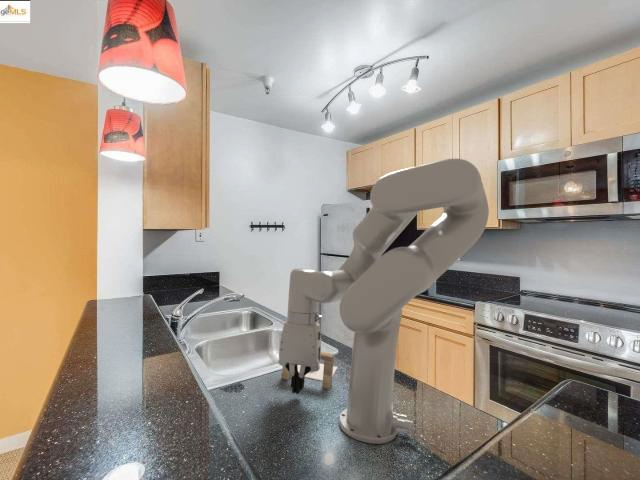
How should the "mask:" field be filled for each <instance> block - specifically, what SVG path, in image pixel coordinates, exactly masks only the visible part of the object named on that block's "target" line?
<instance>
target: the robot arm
mask: <svg viewBox="0 0 640 480" xmlns="http://www.w3.org/2000/svg"><path fill="white" fill-rule="evenodd" d="M369 199H370V202H371V208H370V209H369V211H368V212H367V213H366V215H364V217H363V218H362V219H361V220H360V222H359V223H358V224H357V225H356V226H355V228H354V229H353V231H352V239H353V248H352V251H351V252H350V254H349V256H348V258H347V259H346V260H345V261H344V263H343V264H342V265H341V266H340V267H339V268H338V269H337V270H322V271H321V270H320V271H318V270H316V269H311V268H294V269H292V270H291V272H290V275H289V276H290V277H289V289H288V301H287V315H286V316H287V317H286V318H287V319H286V320H285V321H284V322H283V327H282V331H281V335H280V340H279V341H280V342H279V349H278V362H277V363H278V365H279V366H282V367H283V366H284V367H286V368H287V370H288V371H289V372H290V376H291V378H290V379H291V380H290V388H292V389H291V393H292V394H297V395H299V394H300V393H301V391H302V390H304V388H305V380H306V378H305V375H306V374H307V373H309V372H313V371H318V370H319V369H320V365H319V363H320V361H321V351H322V334H321V333H322V332H321V324H320V323H318V322H322V321H323V318H324V317H323V315H320V314H319V311H318V308H319V307H318V305H319V303H320V304H331V303H335V302H339V301H340V303H339V316H340V319H341V322H342V323H343V324H344V325H345V327H346V328H347V329H348V330H350V331H352V332H353V333H354V336H353V338H352V339H353V340H352V341H353V342H352V349H351V350H352V351H351V361H350V374H349V382H348V383H349V385H348V395H347V407H346V409H344V410H342V411H341V412H340V414H339V418H338V423H339V427H340V428H341V430H342V432H343V433H345V434H346V435H347V436H349V437H350V438H352V439H355V440H356V441H359V442H362V443H366V444H372V445H373V444H375V445H377V444H379V445H381V444H382V445H383V444H385V443H386V444H387V443H389V442H391V441H393V440H394V439H396V437H397V434H398V428H399V429H401V430H405V431H408V432H413V426H414V421H413V420H409V419H408V418H407V417H408V416H407V414H402V413H397V412H396V411H394V404H393V395H394V381H395V372H396V371H395V370H396V358H397V347H398V340H399V332H400V327H401V321H402V315H403V308H404V307H405V306H406V305H407V304H409V302H411V301H412V300H413V299H414V298H415V297H416V296H418V295H419V294H422V293H424V292H425V291H427V290H428V289H430V288H431V286H432V285H433V284H434V283H435V282H436V281H437V280H438V279H439V278H440V277H441V276H442V275H443V274H445V272H447V270H449V269H450V268H451V267H452V266H453V265H454V264H455V263H457V261H458V260H460V258H461V257H462V256H463V255H465V254H466V252H468V251H469V250H470V249H471V248H472V247H473V246H474V245H475V244H476V242H477V241H478V240H479V239H480V238H481V236H482V234H483V233H484V232H485V229H486V226H487V223H488V221H489V213H490V210H489V201H488V198H487V195H486V192H485V189H484V185H483V181H482V177H481V173H480V172H479V170H478V168H477V167H476V166H475V164H473V163H472V162H470V161H468V160H466V159H463V158H445V159H442V160H441V159H440V160H437V161H433V162H429V163H425V164H421V165H417V166H412V167H408V168H404V169H400V170H397V171H392V172H389V173H386V174H385V175H383V176H381V177H379V178H378V179H377V180H376V182H375V183H374V184H373V186H372V187H371V190H370V198H369ZM438 208H439V209H440V208H442V209H443V212H442V213H441V214H442V215H441V216H440V217H439V218H438V219H437V220H436V221H434V222H433V223H432V224H431V225H429V227H427V228H426V230H424V231H423V233H421V235H420V236H419V237H417V238H416V240H414V241H413V242H412V243H411V244H409V245H408V246H399V247H395V248H392V249H390V250H388V248H389V247H390V246H391V245H392V244H393V242H394V241H395V240H396V239H397V238H398V237H399V235H400V234H401V233H402V232H403V231H404V230H405V229H406V227H407V226H408V225H409V224H410V223H411V221H413V219H414V218H415V217H416V215H417V214H418V213H419V212H421V211H427V210H433V209H434V210H435V209H438ZM386 250H388V251H387V252H386ZM298 365H301V367H300V372H299V373H298ZM395 436H396V437H395Z"/></svg>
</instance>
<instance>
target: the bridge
mask: <svg viewBox="0 0 640 480" xmlns="http://www.w3.org/2000/svg"><path fill="white" fill-rule="evenodd" d="M334 359H335V353H332V352H327V351H322V350H321V359H320V361H322V360H323V361H324V362H323V364H324V371H323V381H321V382H322V384H321V388H323V389H328V390H330V388H331V387H332V384H333V383H332V382H333V377H332V374H333V366H334V361H335V360H334ZM281 370H282V371H281V380H285V381H289V380H290V379H291V376H290V372H289V371H288V370H287V368H286V367H284V366H282V369H281Z"/></svg>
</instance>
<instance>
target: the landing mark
mask: <svg viewBox="0 0 640 480" xmlns="http://www.w3.org/2000/svg"><path fill="white" fill-rule="evenodd" d="M319 365H320V369H319V370H318V371H313V372H309V373H307V374H306V375H305V379H311V380H316V381H320V382H323V371H324V363H321V362H319ZM300 367H301V365H298V373H299V372H300ZM338 367H339V366H336V365H335V366H334V365H333V374H332V378H333V376H334V375H335V373H336V372H337V370H338Z"/></svg>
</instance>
